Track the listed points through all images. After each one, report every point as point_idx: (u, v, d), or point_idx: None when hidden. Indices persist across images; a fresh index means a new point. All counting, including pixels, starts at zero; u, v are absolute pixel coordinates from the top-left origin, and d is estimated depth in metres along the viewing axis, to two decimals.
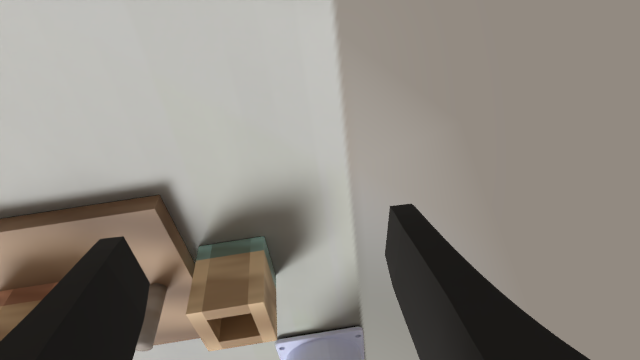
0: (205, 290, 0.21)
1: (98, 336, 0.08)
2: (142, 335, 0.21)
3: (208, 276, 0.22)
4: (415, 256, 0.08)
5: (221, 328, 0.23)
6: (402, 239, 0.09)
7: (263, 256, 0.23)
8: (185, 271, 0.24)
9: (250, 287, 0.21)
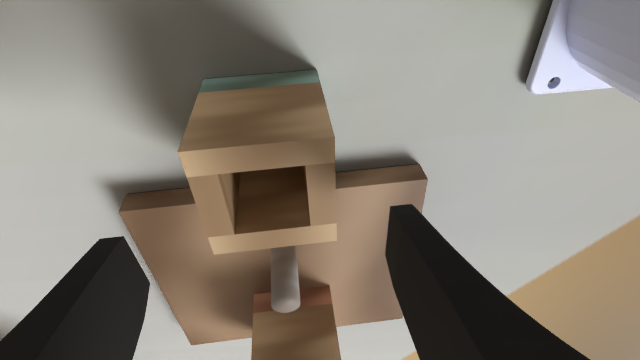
0: None
1: (98, 337, 0.08)
2: (271, 296, 0.15)
3: None
4: (415, 256, 0.08)
5: (308, 206, 0.13)
6: (402, 239, 0.09)
7: (198, 99, 0.13)
8: None
9: None
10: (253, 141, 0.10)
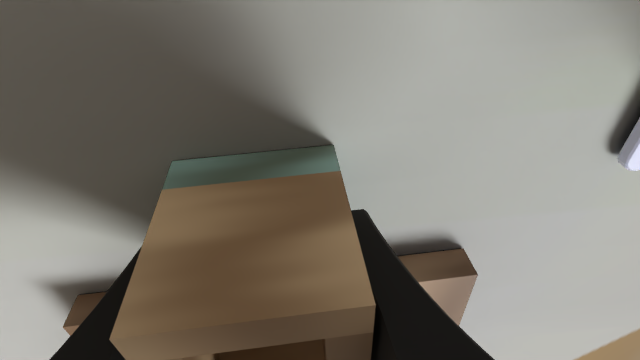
0: None
1: None
2: None
3: None
4: None
5: (324, 355, 0.09)
6: None
7: (160, 203, 0.08)
8: None
9: None
10: (239, 312, 0.06)
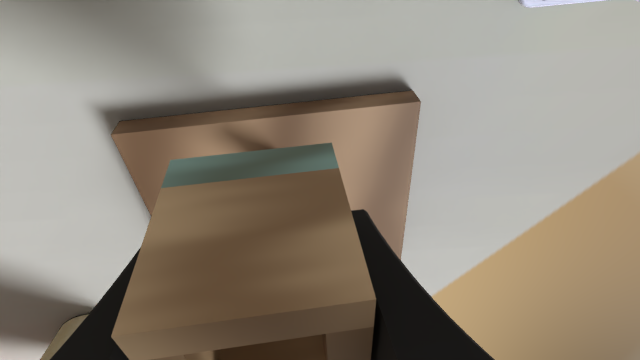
0: None
1: None
2: None
3: None
4: None
5: (324, 351, 0.09)
6: None
7: (159, 201, 0.08)
8: (240, 124, 0.16)
9: None
10: (241, 307, 0.06)
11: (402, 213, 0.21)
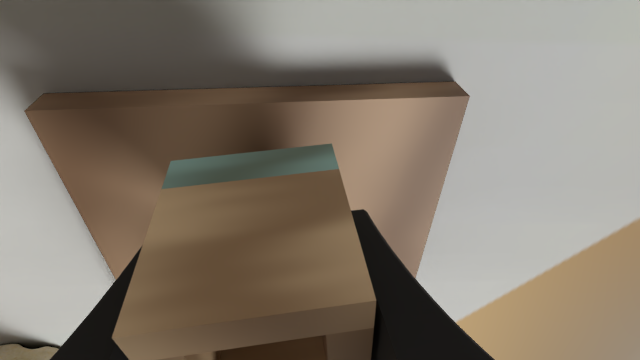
0: None
1: None
2: None
3: None
4: None
5: (324, 352, 0.09)
6: None
7: (160, 203, 0.09)
8: (218, 109, 0.12)
9: None
10: (241, 309, 0.06)
11: (421, 240, 0.17)
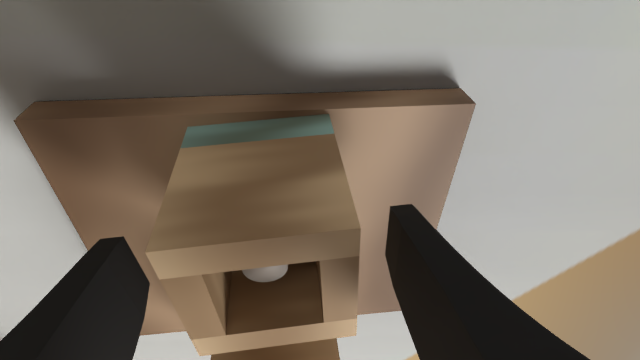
0: None
1: (98, 336, 0.08)
2: None
3: None
4: (415, 256, 0.08)
5: (320, 292, 0.10)
6: (402, 239, 0.09)
7: (179, 158, 0.10)
8: (216, 118, 0.11)
9: None
10: (250, 233, 0.08)
11: None
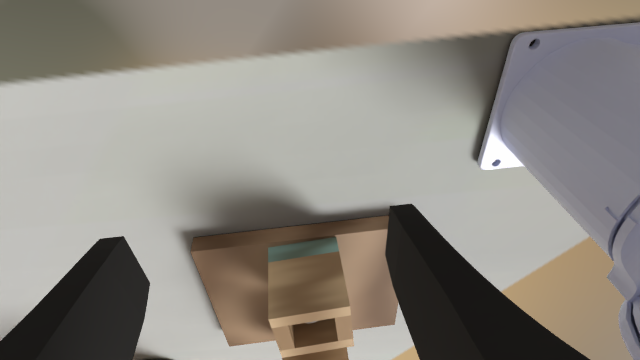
0: None
1: (98, 336, 0.08)
2: None
3: None
4: (415, 256, 0.08)
5: (336, 326, 0.22)
6: (402, 239, 0.09)
7: (269, 269, 0.22)
8: (281, 243, 0.23)
9: None
10: (306, 309, 0.19)
11: None
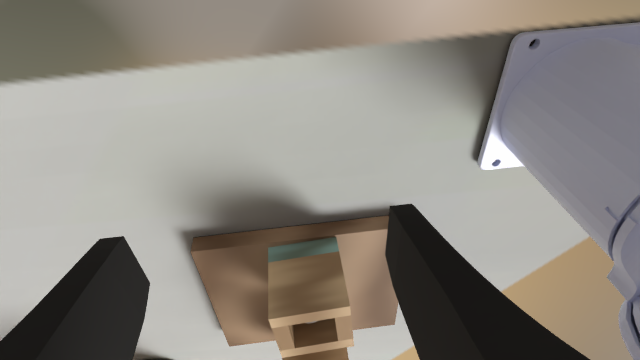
0: None
1: (98, 336, 0.08)
2: None
3: None
4: (415, 256, 0.08)
5: (336, 326, 0.22)
6: (402, 239, 0.09)
7: (269, 269, 0.22)
8: (281, 243, 0.23)
9: None
10: (307, 309, 0.19)
11: None
